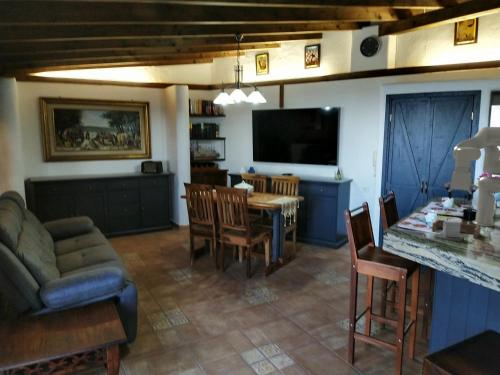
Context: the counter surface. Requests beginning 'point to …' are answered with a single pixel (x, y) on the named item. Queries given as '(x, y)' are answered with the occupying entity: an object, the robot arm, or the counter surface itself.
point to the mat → (450, 237)
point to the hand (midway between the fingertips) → (459, 199)
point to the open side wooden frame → (463, 227)
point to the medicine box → (451, 228)
